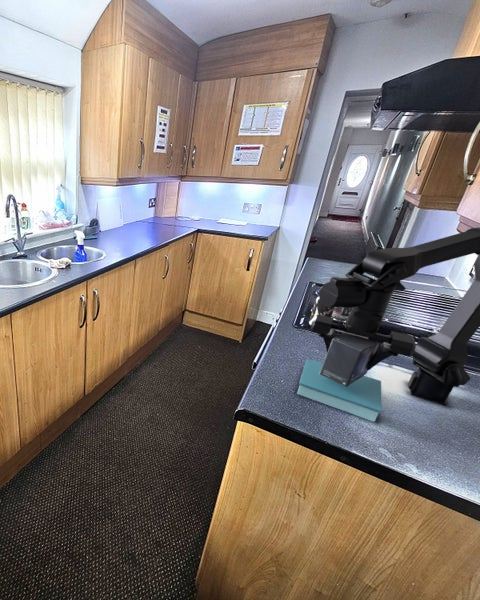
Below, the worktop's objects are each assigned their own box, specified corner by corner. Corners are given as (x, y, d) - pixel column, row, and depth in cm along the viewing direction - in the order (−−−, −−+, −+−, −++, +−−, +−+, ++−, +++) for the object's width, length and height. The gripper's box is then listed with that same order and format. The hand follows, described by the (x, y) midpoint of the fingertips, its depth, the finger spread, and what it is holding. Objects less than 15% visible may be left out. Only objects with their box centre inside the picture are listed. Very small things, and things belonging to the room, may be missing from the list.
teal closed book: (375, 392, 84) (381, 380, 83) (376, 423, 75) (382, 411, 73) (303, 368, 94) (307, 358, 92) (295, 394, 84) (299, 382, 82)
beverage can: (313, 329, 115) (323, 298, 110) (305, 322, 120) (314, 292, 115) (330, 330, 114) (341, 299, 109) (321, 323, 119) (331, 292, 114)
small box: (348, 388, 77) (363, 351, 73) (318, 374, 82) (330, 338, 78) (368, 374, 82) (383, 338, 78) (338, 361, 87) (351, 327, 83)
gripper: (422, 305, 74) (396, 362, 81) (323, 287, 85) (307, 338, 92) (428, 323, 67) (399, 385, 73) (318, 300, 78) (301, 355, 84)
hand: (347, 363), depth 81 cm, fingers closed on small box, 7 cm apart
